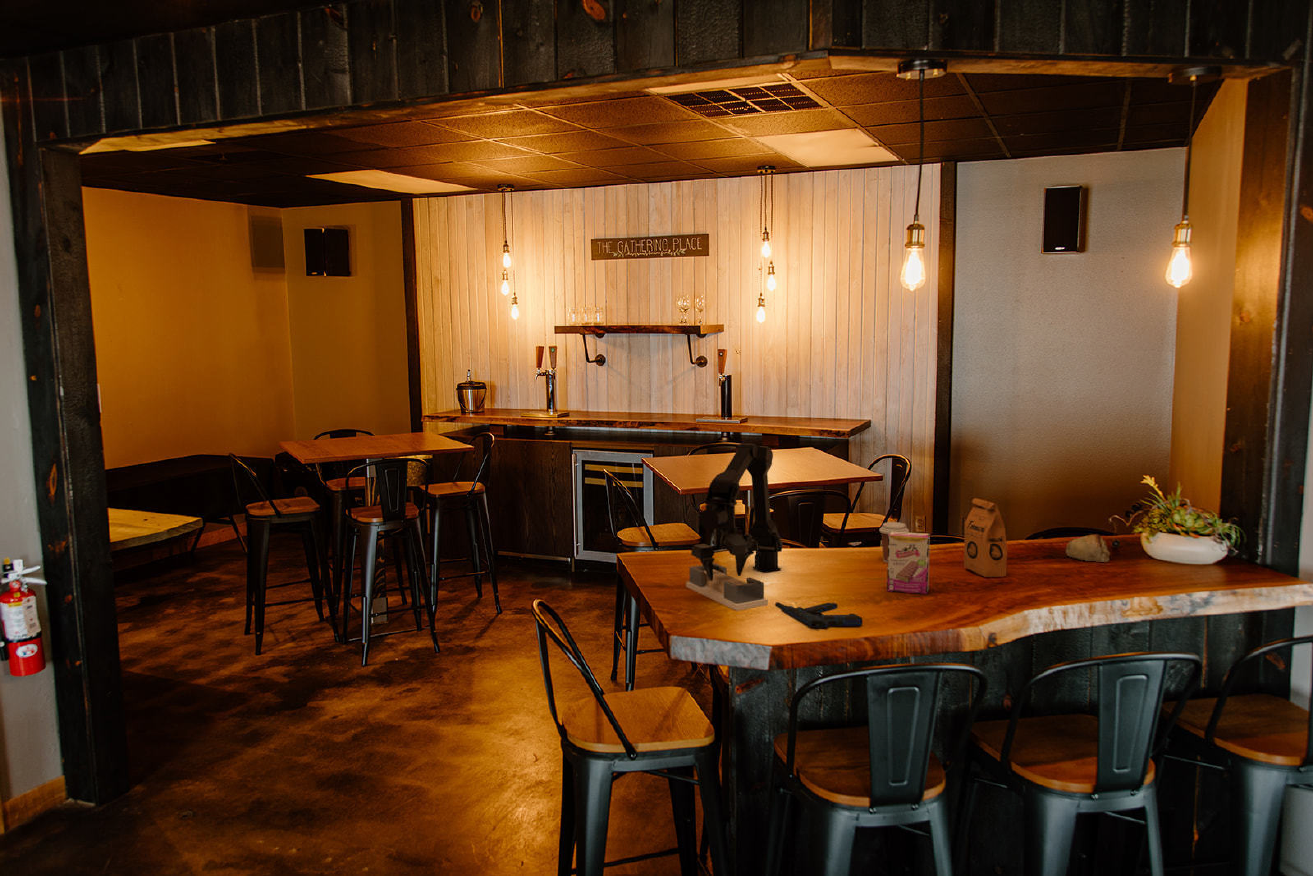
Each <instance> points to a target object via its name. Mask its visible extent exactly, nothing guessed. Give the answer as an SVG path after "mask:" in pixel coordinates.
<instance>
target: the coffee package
mask: <svg viewBox="0 0 1313 876" xmlns="http://www.w3.org/2000/svg"><path fill="white" fill-rule="evenodd" d="M971 503H972V504H973V506H972V508H971V510H970V512H969V513H968V516H967V518H966V520H965V522H964V539H963V540H964V541H963V542H964V545H963V546H964V548H963V559H964V561H963V562H964V564H963V568H965V569H967V570H970V571H971V572H974V573H975V574H976V575H980V576H982V577H984V578H986V577H989V578H992V577H995V578H1003V577H1004V576H1005V577H1007V561H1008V560H1007V559H1008V547H1007V546H1008V545H1007V536H1006V535H1007V534H1006V528H1005V524H1004V521H1003V519H1002V516H1001V512H1000V510H999V507H998V505H997V503H993V502H991V501H987V500H984V499H980V498H976V497H975V498H973V499H972V501H971Z"/></svg>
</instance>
